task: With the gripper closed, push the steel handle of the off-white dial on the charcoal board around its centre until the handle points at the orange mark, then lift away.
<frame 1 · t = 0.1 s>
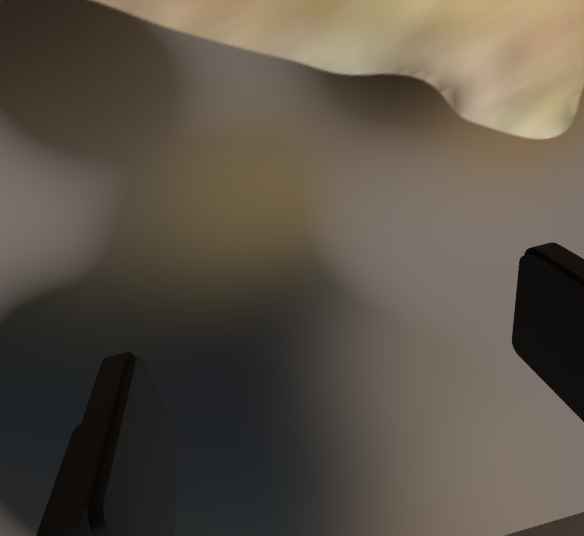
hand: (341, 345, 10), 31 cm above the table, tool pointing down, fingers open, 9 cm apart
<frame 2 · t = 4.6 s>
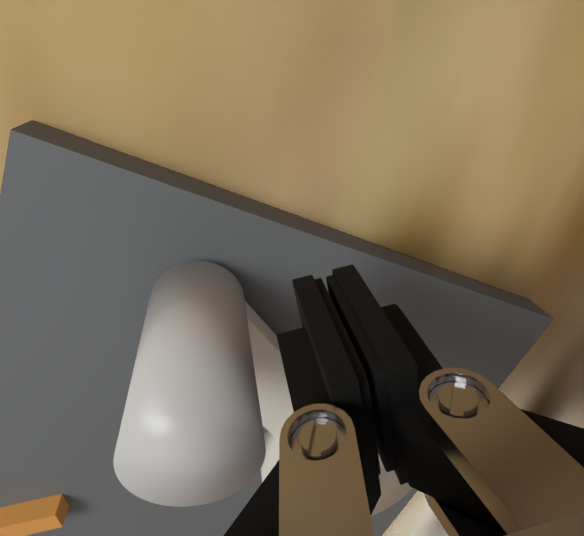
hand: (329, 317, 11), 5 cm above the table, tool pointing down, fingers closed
dial: (308, 464, 14), point 5 cm above the table, hinge at -32.8°, touching gripper
stand board: (249, 397, 19), on the table
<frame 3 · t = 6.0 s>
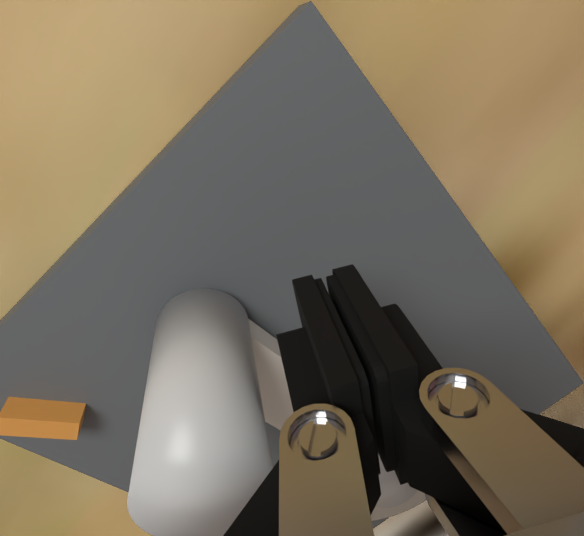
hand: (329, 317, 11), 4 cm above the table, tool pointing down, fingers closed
dial: (337, 470, 14), point 5 cm above the table, hinge at 1.7°, touching gripper
stand board: (304, 367, 18), on the table
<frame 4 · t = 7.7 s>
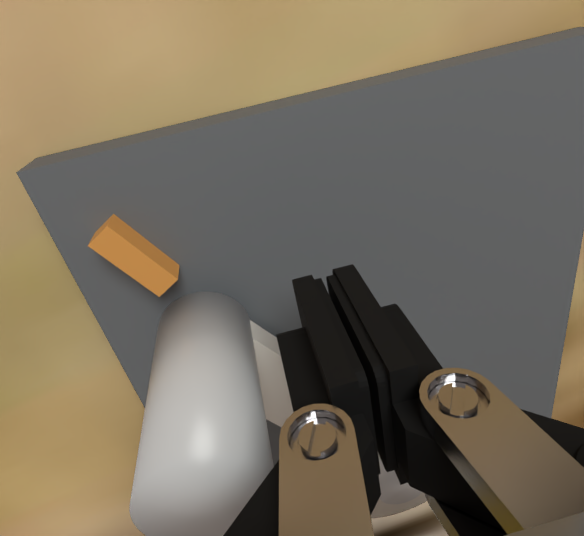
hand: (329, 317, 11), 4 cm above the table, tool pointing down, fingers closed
dial: (344, 468, 14), point 5 cm above the table, hinge at 34.4°, touching gripper
stand board: (356, 340, 18), on the table
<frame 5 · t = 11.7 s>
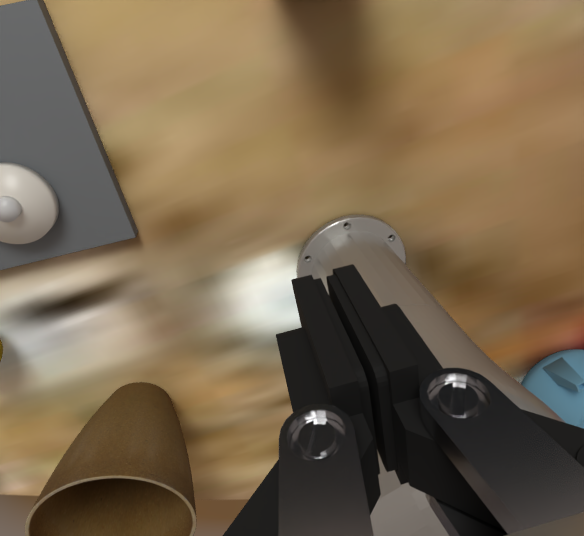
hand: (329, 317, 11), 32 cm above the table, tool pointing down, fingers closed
plant pot: (139, 401, 53), on the table
teapot: (552, 378, 65), on the table
stand board: (0, 152, 37), on the table
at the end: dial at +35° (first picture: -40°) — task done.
